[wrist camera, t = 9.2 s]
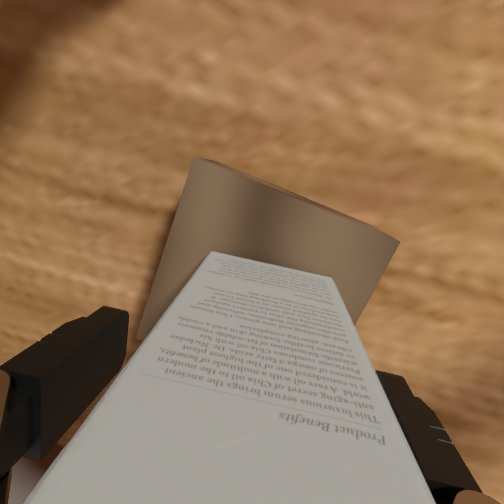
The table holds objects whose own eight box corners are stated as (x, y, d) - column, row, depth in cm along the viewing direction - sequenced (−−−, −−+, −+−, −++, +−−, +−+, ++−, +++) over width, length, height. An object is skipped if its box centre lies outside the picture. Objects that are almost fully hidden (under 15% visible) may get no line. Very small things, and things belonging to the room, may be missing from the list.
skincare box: (196, 326, 16) (-20, 749, 4) (210, 247, 15) (-41, 551, 3) (313, 353, 16) (402, 865, 4) (337, 276, 15) (549, 703, 3)
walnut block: (371, 224, 19) (400, 241, 14) (303, 358, 21) (307, 411, 17) (218, 161, 19) (194, 157, 14) (169, 301, 22) (134, 338, 17)
